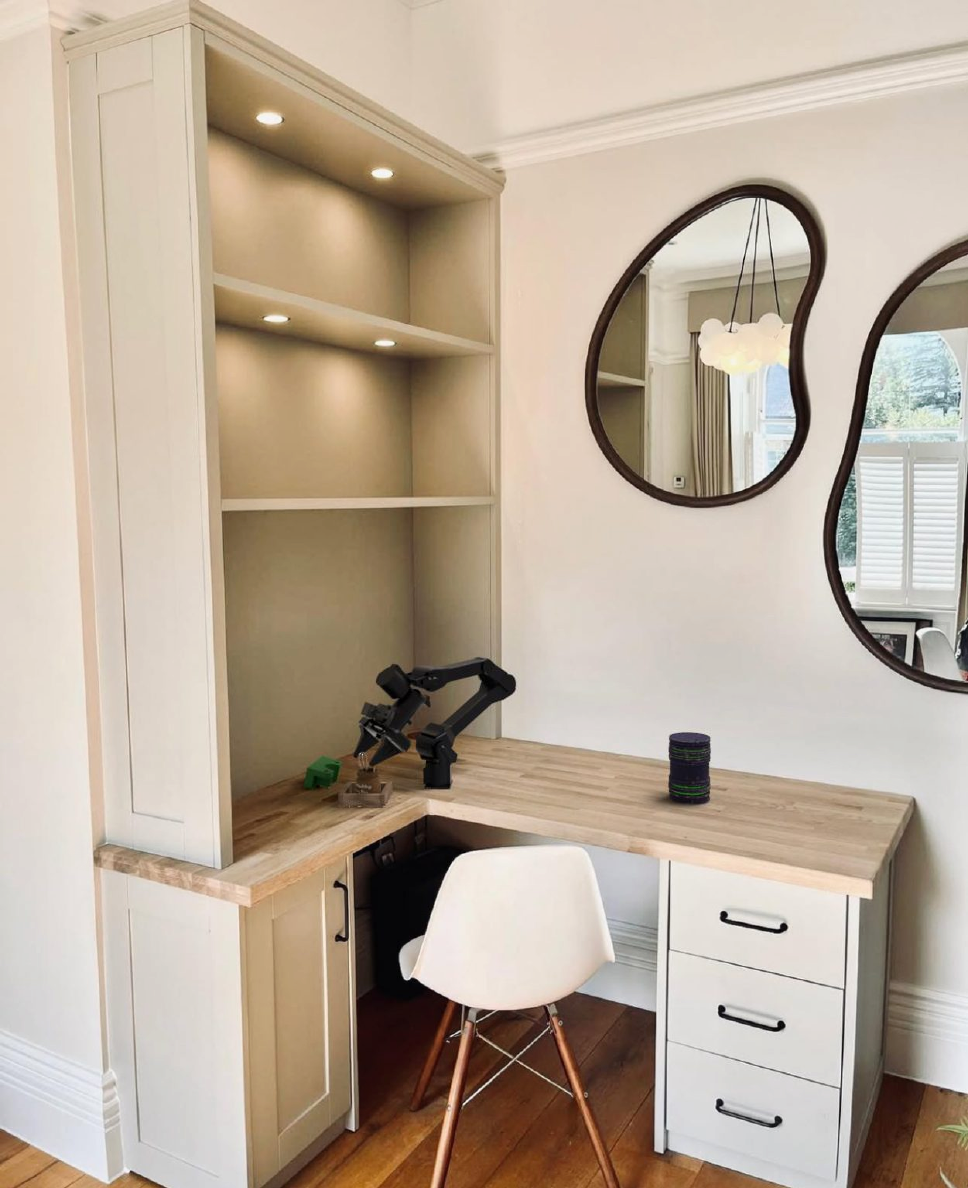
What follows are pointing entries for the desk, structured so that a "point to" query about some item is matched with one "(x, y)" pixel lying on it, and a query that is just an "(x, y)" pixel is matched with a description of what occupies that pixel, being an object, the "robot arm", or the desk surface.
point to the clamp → (322, 772)
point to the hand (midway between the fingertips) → (362, 761)
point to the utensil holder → (368, 780)
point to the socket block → (364, 796)
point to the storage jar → (689, 768)
